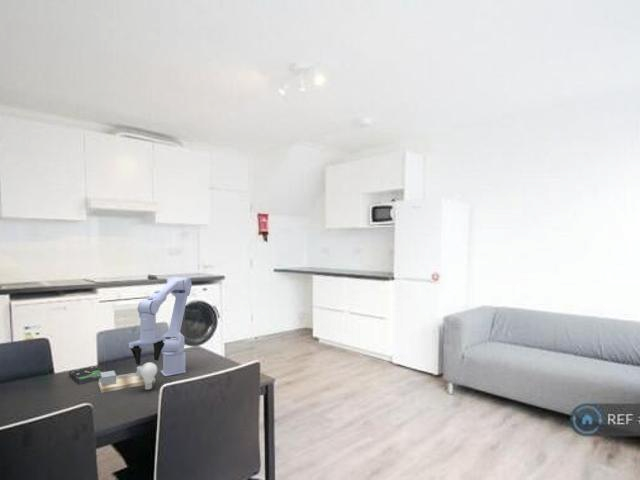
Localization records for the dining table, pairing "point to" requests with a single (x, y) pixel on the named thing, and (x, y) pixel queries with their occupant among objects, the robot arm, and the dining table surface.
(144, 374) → the lightbulb
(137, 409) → the dining table surface
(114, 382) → the rail board
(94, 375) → the disk drive
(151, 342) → the robot arm
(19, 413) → the dining table surface
